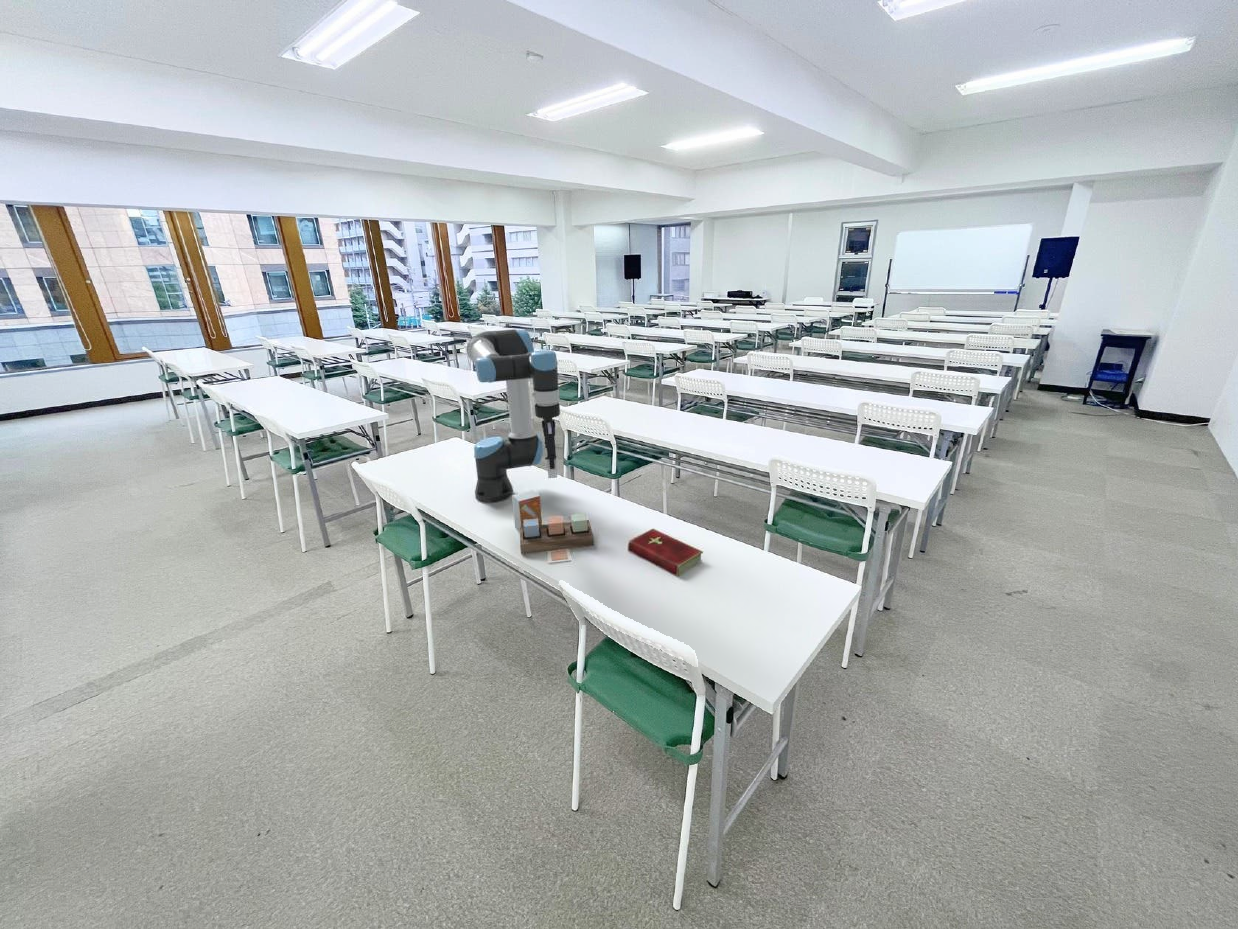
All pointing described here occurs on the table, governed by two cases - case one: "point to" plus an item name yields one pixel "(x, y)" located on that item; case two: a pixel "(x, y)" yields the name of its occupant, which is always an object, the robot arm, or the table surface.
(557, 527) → the cap terracotta
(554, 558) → the tile
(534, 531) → the light blue cube
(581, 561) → the table surface
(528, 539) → the wooden tray
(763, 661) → the table surface
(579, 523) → the cap sage
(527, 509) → the small box
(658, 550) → the hardcover book
